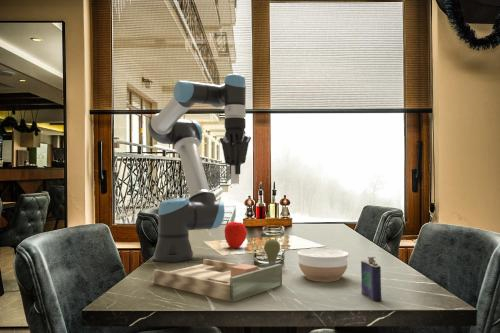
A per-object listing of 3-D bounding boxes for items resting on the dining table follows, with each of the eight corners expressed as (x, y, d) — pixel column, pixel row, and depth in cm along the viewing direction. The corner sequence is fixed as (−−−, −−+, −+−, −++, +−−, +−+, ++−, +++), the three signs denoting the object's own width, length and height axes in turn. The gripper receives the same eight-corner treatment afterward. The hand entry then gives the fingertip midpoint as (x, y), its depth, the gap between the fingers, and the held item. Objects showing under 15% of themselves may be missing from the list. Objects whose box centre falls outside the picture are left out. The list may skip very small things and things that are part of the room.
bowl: (317, 286, 125) (317, 258, 125) (287, 275, 139) (287, 250, 140) (359, 280, 133) (359, 254, 133) (327, 270, 147) (327, 246, 147)
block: (230, 281, 121) (230, 266, 121) (243, 277, 125) (243, 263, 125) (245, 284, 117) (245, 269, 117) (258, 280, 121) (258, 266, 122)
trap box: (153, 283, 128) (153, 263, 128) (205, 270, 146) (205, 252, 146) (233, 302, 109) (233, 278, 109) (281, 284, 126) (281, 264, 126)
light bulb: (282, 266, 152) (281, 238, 152) (277, 269, 147) (277, 240, 147) (266, 265, 154) (266, 237, 154) (262, 268, 149) (262, 239, 149)
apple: (250, 247, 195) (250, 220, 195) (238, 250, 186) (238, 222, 187) (232, 245, 200) (232, 219, 200) (220, 248, 192) (220, 220, 192)
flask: (359, 292, 118) (359, 253, 118) (369, 292, 118) (369, 253, 119) (373, 302, 109) (373, 259, 109) (384, 302, 109) (384, 259, 109)
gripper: (214, 118, 156) (214, 183, 155) (242, 115, 148) (242, 183, 147) (228, 120, 161) (228, 183, 161) (255, 117, 153) (255, 183, 153)
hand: (235, 183), depth 154 cm, fingers closed
